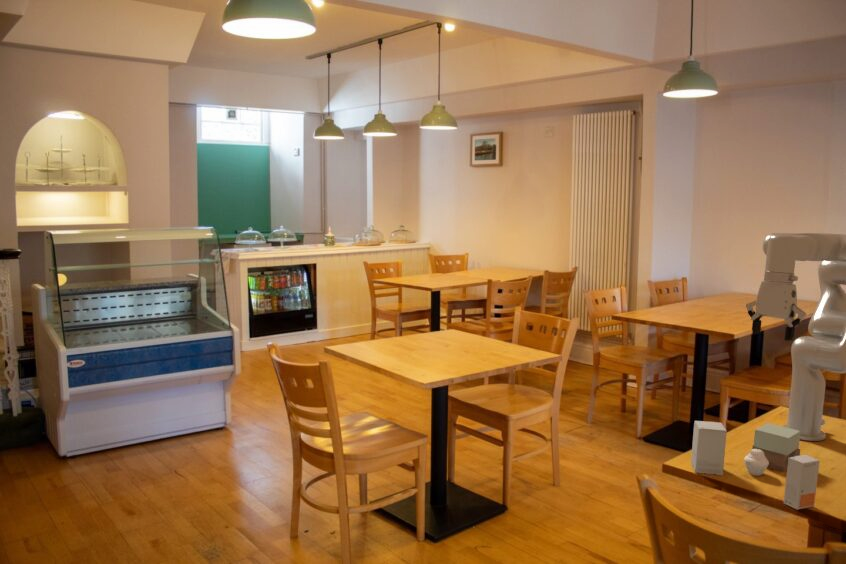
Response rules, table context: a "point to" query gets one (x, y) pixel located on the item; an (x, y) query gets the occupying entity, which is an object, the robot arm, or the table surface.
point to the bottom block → (778, 459)
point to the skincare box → (801, 482)
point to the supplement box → (708, 447)
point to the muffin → (756, 462)
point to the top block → (777, 439)
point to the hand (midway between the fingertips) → (772, 337)
